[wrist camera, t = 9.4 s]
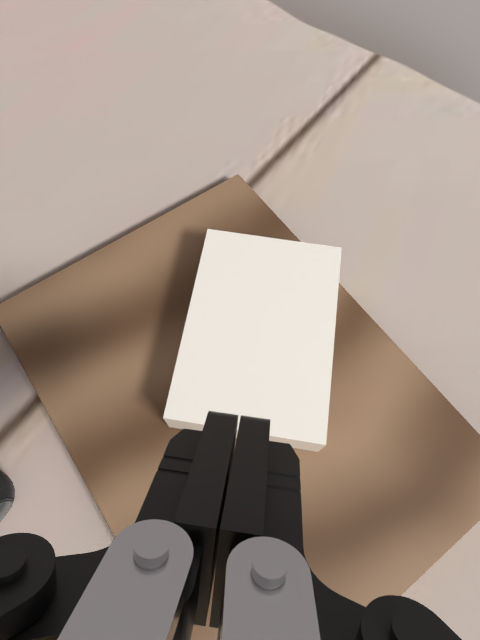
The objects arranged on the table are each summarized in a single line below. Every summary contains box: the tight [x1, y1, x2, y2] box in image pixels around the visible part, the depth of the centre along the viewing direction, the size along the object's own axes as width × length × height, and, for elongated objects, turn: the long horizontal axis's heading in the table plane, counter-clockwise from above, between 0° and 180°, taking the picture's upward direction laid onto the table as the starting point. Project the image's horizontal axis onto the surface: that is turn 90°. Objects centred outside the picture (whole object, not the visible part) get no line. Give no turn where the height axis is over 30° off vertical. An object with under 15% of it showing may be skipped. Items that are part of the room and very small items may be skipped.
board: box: [0, 174, 480, 640], centre depth 22 cm, size 22×16×1 cm
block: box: [163, 229, 342, 452], centre depth 22 cm, size 2×7×10 cm
